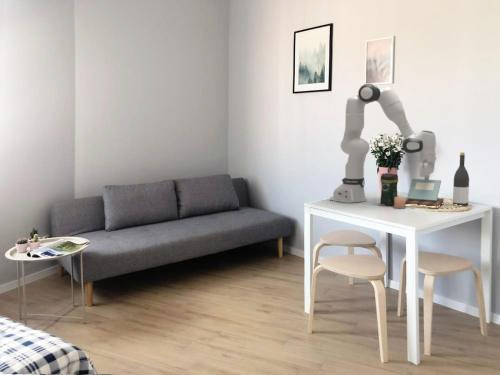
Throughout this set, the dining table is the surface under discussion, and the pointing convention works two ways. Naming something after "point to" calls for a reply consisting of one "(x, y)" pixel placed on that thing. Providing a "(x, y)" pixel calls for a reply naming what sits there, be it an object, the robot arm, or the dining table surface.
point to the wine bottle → (461, 184)
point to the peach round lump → (399, 202)
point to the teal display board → (424, 189)
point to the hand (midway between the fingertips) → (426, 182)
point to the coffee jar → (388, 188)
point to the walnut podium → (425, 202)
